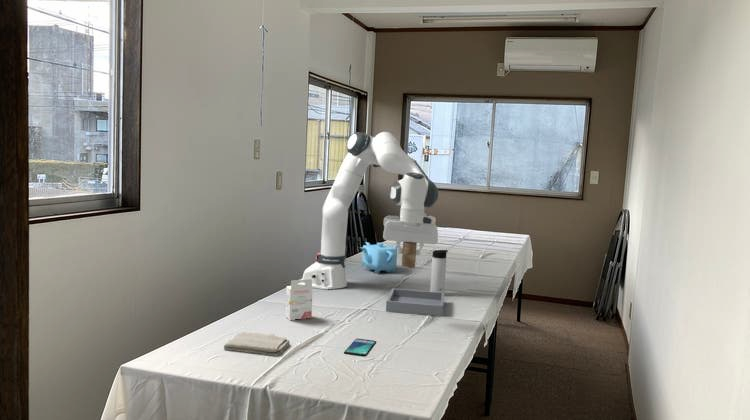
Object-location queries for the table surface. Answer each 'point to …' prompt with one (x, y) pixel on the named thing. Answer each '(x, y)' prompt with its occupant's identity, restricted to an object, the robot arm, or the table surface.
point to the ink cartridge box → (299, 300)
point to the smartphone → (360, 347)
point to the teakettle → (379, 257)
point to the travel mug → (438, 271)
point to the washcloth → (257, 343)
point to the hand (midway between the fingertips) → (409, 254)
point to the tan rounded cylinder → (409, 254)
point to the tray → (415, 302)
